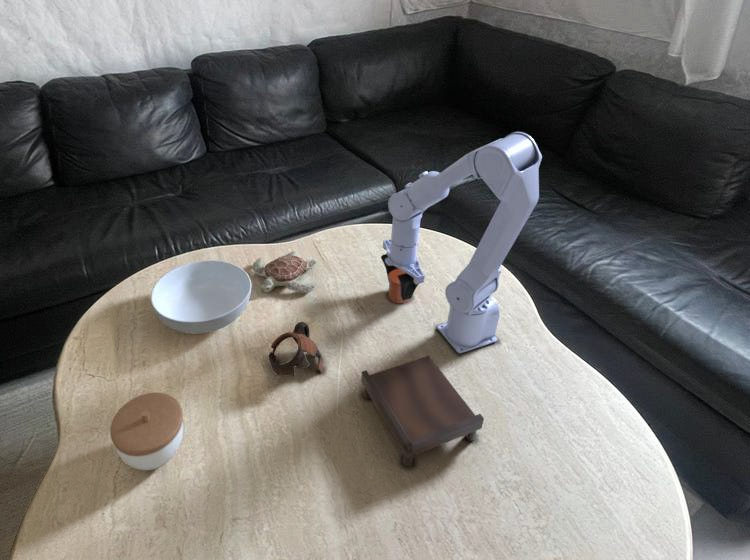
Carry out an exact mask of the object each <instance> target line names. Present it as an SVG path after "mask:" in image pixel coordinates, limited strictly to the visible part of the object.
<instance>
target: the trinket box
mask: <svg viewBox="0 0 750 560" xmlns="http://www.w3.org/2000/svg"><path fill="white" fill-rule="evenodd" d="M184 427H185V426H184V415H183V409H182V406H181V404H180V402H179V401H178V400H177V399H176V398H175V397H174V396H172V395H171V394H167V393H164V392H147V393H144V394H141V395H138V396H136V397H134V398H132V399H130V400H129V401H127V402H126V403H125V404H123V405H122V406H121V407H120V408H119V409H118V410H117V412H116V414H115V415H114V416H113V418H112V421H111V424H110V428H109V435H110V439H111V441H112V444H113V446H114V448H115V450H116V453H117V455H118V456H119V458H120V459H121V460H122V461H123V462H124V463H125V464H126V465H127V466H129V467H131V468H132V469H135V470H138V471H153V470H156V469H158V468H160V467H162V466H164V465H166V464H168V463H169V462H170V461H171V460H172V459H173V458H174V457H175V455H176V454H177V452H178V451H179V449H180V447H181V445H182V442H183V437H184V430H185V429H184Z"/></svg>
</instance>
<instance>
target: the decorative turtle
mask: <svg viewBox="0 0 750 560" xmlns="http://www.w3.org/2000/svg"><path fill="white" fill-rule="evenodd" d="M263 260H264V259H263V257H259V258H257V259H256V260H255V261H254V262H253V264H252V267H251V270H252V271H253V272H254V273H255V274H256V275H258V276H260V277H265V278H266V279H264V280H263V281H262V282H261V283H260V289H261V290H260V291H261V293H269V292H271V291H273V290H274V289H275V287H281V286H285V287H286V288H287V289H288V290H290V291H292V292H297V293H303V294H304V293H305V294H307V293H310V292H312V291H314V290H315V289H317V287H318V286H319V285H320V284H319V282H318V281H311V282H305V283H303V282H299V281H298V280H299V279H300V277H301V276H302V275H303V273H304V271H306V270H312V269H314V268H315V267H316V266H317V263H318V262H317V260H316V259H312V258H311V259H309V260H307V261H305V260H304V259H303V258H301V257H299V256H298V252H297V251H291V252H289V253H286V254H285V255H282V256H278V257H277V258H275V259H274V260H272V261H269V262H268V263H267V264H265V266H263Z"/></svg>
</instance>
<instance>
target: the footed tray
mask: <svg viewBox="0 0 750 560" xmlns="http://www.w3.org/2000/svg"><path fill="white" fill-rule="evenodd" d="M360 382H361V385H363V388H364V389H363V397H364V398H365V399H371V401H372V402H373V404H374V406H375V408H376V409H377V411H378V412H379V415H380V417H381V418H382V419H383V421H384V423H385V424H386V426H387V428H388V430H389V432H390V433H391V435H392V436H393V438H394V439H395V442H396V443H397V445H398V446H399V448H400V450H401V451H402V453H403V458H402V464H403V465H404V467H411V466H412V465H413V457H415V456H416V455H418V454H421V453H425V452H427V451H428V450H430V449H434V448H436V447H439V446H442V445H444V444H446V443H448V442H451V441H454V440H456V439H459V438H461V437H463V436H465V438H466V440H467V441H469V442H473V441H475V440H476V435H477V431H479V430H481V429H483V424H484V420H485V418H484V416H483V415H482V413H478V414H475V413H474V411H473V410H472V409H471V408H470V406H469V405H468V404H467V402H466V401H465V400H464V399H463V397H462V396H461V394H459V392H458V391H457V389H455V387H454V386H453V384H452V383H451V382H450V381H449V379H448V377H446V375H445V374H444V373H443V371H442V370H441V369H440V368H439V366H438V365H437V364H436V363H435V362H434V360H433V359H432V357H430V355H426V356H423V357H420V358H419V357H418V358H417V359H416V358H415V359H413V360H411V361H407V362H404V363H402V364H401V363H400V364H398V365H395V366H392V367H388V368H386V369H383V370H380V371H377V372H373V373H369V372H368V370H363V371H361V378H360Z"/></svg>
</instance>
